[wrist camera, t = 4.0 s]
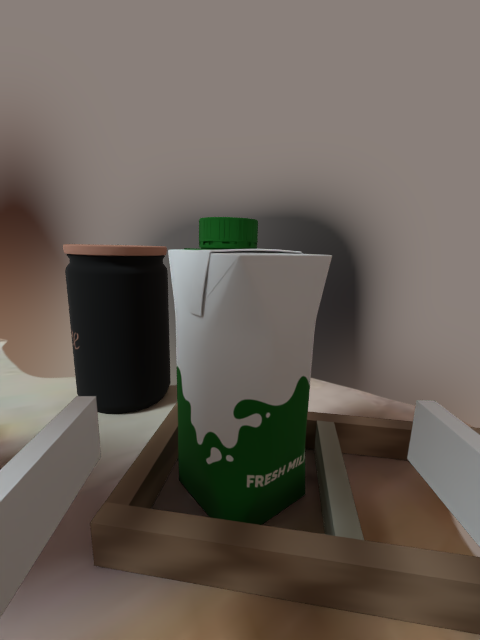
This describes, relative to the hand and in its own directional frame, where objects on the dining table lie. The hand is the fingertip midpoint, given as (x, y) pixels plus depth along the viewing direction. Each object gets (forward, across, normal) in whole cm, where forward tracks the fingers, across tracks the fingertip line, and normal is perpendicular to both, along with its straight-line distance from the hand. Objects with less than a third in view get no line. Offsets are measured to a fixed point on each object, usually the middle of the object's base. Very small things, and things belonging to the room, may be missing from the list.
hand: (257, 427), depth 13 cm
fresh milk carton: (+9, 0, -11) cm, 15 cm away
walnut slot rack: (+8, +6, -11) cm, 15 cm away
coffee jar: (+25, -14, -11) cm, 31 cm away
